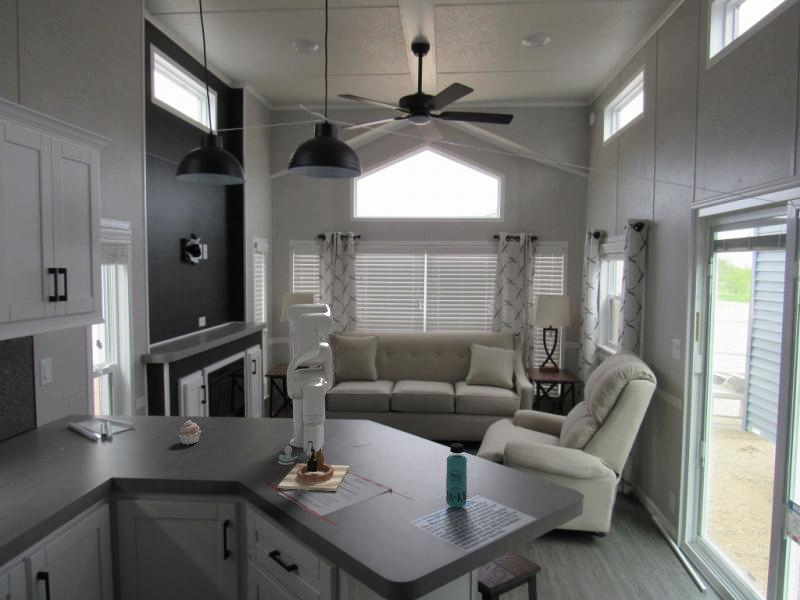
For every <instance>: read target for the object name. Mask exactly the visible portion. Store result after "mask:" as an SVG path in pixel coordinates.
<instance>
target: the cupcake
mask: <svg viewBox="0 0 800 600" xmlns="http://www.w3.org/2000/svg"><path fill="white" fill-rule="evenodd" d="M201 432H202V430H201V429H200V426H199V425H197V423H196V422H193V421H192V420H191V419H189V420H187V421H185V422H184V423H183V425H181V426H180V430H179V432H178V433H177V435H178V436H179V438H180V441H181V442H180V443H181V444H182V445H183V444H193V443H196V442H197V443H199V439H200V435H201ZM197 443H196V444H197ZM193 445H194V444H193Z"/></svg>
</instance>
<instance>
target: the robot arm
mask: <svg viewBox="0 0 800 600" xmlns="http://www.w3.org/2000/svg"><path fill="white" fill-rule="evenodd" d="M285 312H286V319H287V322H288V324H289V327H290V330H291V333H292V347H293V349H292V351H293V354H292V355H293V358H292V359H291V361H290V362H289V364H288V366H287V370H286V390H287V395H288V397H289V398H290V400H292V413H293V414H292V415H293V417H292V418H293V419H292V421H293V438H291V439H290V442H289V446H291V447H293V448H297V449H298V448H299V449H300V448H302V449H303V452H304V453H306V457H307V462H308V472H317V460H316V453H317V452H318V451H319V450H320V451H321V452H322V453H323V445H324V443H325V431H324V430H325V428H324V424H325V422H326V400H325V399H326V394H327V393H328V390H330V389H331V388H332V387H333V376H334V375H333V353H332V352H333V351H332V347H331V345H330V344H329V343H327V342H320V335H331V334H332V333H333V331H334V328H335V321H334V316H333V313H332V310H331V308H330V306H329V305H328V304H327V303H299V304H298V303H296V304H291V305H289V306H288V307H287V308H286V311H285ZM313 366H316V368H312V367H313ZM317 366H320V367H317ZM298 367H309V368H301V369H300V368H299V369H297V368H298ZM310 367H311V368H310ZM312 450H315V451H314V452H312ZM312 454H314V457H313V455H312Z"/></svg>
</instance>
